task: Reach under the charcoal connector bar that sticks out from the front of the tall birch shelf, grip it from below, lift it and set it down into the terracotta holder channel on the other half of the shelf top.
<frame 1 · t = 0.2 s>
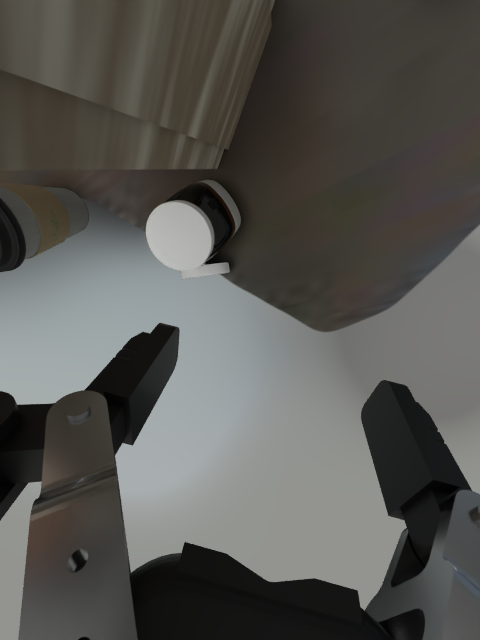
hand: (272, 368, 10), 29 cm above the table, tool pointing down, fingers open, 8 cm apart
coffee cup: (70, 209, 38), on the table
spread jar: (210, 233, 37), on the table
tall shelf: (193, 63, 27), on the table
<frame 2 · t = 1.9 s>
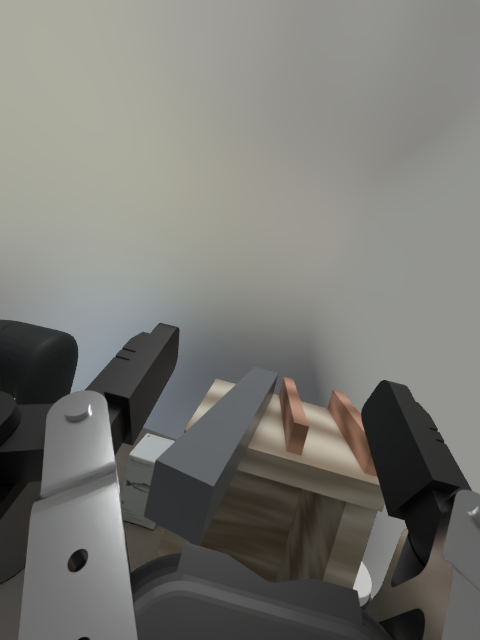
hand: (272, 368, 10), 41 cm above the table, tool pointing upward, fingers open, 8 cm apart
supplement box: (143, 509, 48), on the table
connector bar: (236, 430, 22), point 32 cm above the table, touching tall shelf
spread jar: (331, 635, 36), on the table
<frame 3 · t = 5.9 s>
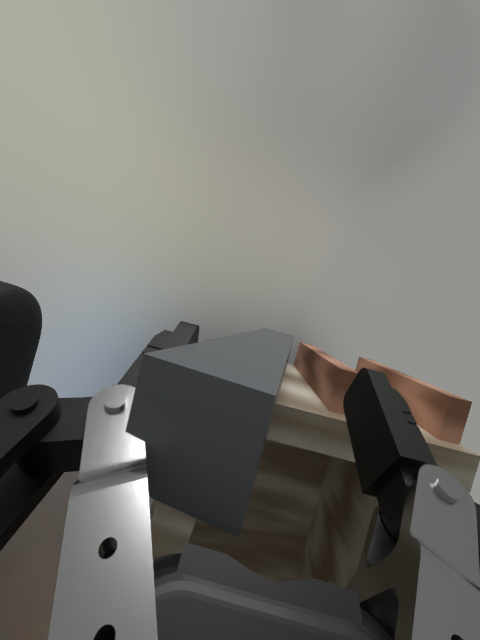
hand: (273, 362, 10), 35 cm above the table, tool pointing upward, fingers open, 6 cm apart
connector bar: (254, 386, 16), point 32 cm above the table, touching gripper, tall shelf
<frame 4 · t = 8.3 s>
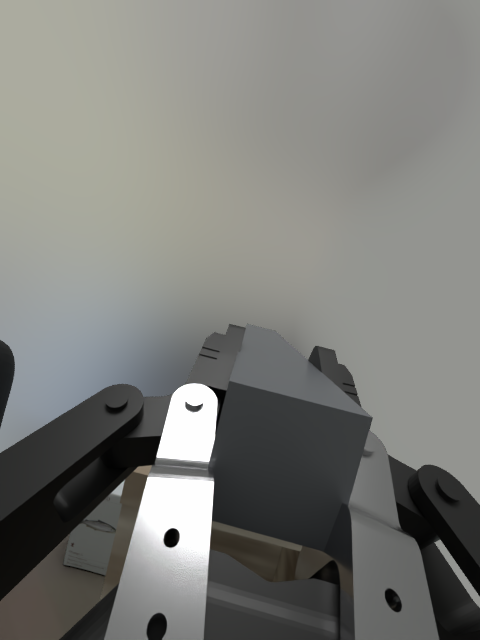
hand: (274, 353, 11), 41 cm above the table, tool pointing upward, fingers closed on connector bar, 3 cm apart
supplement box: (99, 550, 40), on the table
connector bar: (255, 385, 16), point 38 cm above the table, touching gripper
when the fingers open (36 cm above the table, at t = 10.3 s): connector bar drops 1 cm, resting on tall shelf.
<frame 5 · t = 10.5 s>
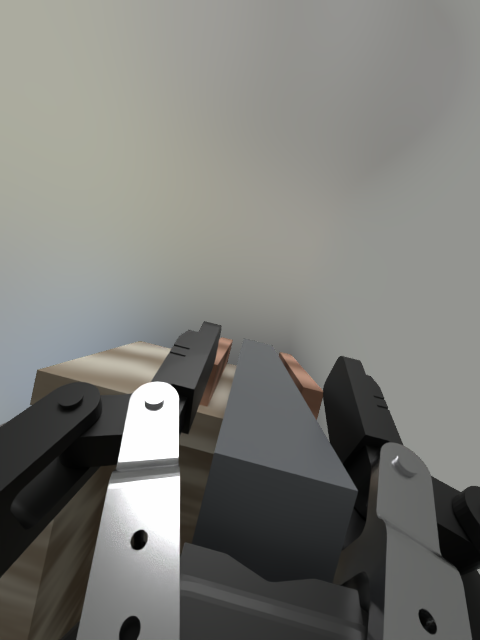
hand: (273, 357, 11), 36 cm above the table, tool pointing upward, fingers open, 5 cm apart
connector bar: (250, 409, 16), point 32 cm above the table, touching tall shelf
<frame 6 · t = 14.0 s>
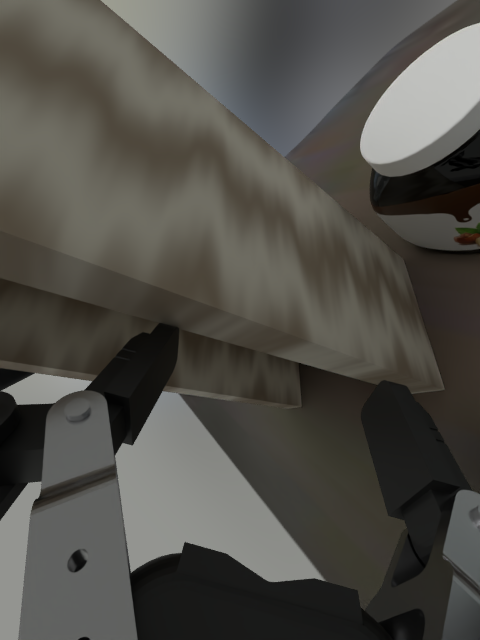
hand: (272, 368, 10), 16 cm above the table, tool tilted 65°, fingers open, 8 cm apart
tall shelf: (338, 342, 27), on the table
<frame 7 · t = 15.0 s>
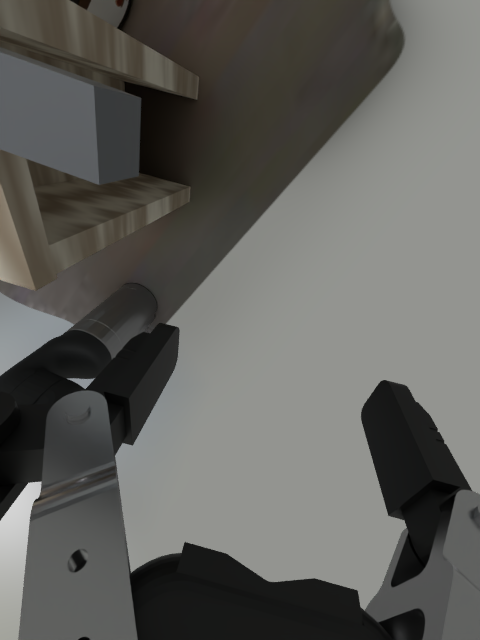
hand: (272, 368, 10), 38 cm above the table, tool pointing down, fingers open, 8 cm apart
tall shelf: (156, 137, 39), on the table
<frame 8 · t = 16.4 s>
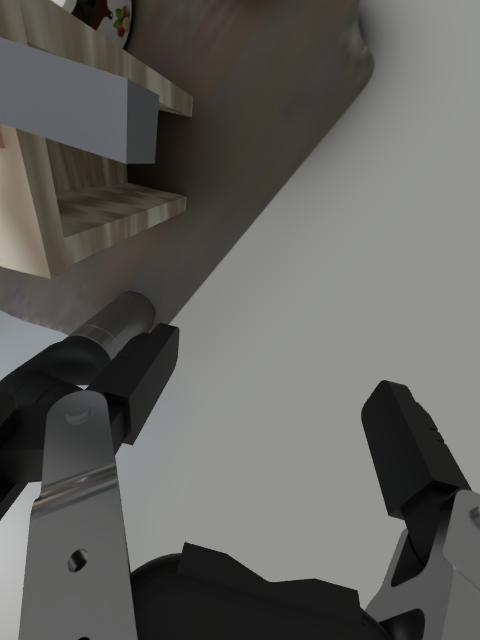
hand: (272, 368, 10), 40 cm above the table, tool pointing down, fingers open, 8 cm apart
tall shelf: (154, 151, 42), on the table
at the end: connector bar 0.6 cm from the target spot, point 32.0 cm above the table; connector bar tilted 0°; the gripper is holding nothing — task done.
